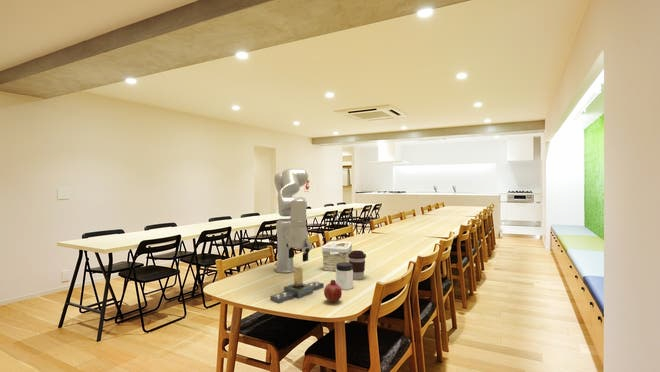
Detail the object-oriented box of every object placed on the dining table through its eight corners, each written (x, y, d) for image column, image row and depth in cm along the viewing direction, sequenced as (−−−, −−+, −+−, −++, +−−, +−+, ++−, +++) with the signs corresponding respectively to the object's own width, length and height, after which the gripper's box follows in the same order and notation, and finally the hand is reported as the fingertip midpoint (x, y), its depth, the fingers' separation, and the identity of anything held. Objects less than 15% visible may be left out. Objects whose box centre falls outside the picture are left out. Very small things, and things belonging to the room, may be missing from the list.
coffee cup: (345, 279, 189) (345, 252, 189) (352, 274, 198) (352, 249, 198) (361, 281, 185) (361, 254, 185) (368, 277, 194) (368, 250, 193)
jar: (333, 289, 172) (333, 265, 172) (338, 284, 180) (338, 261, 180) (350, 290, 169) (350, 266, 169) (354, 285, 177) (354, 262, 177)
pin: (292, 293, 165) (292, 268, 165) (298, 291, 168) (298, 267, 168) (298, 295, 162) (298, 270, 162) (304, 293, 165) (304, 268, 165)
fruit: (333, 297, 159) (333, 276, 159) (345, 302, 153) (345, 280, 153) (320, 301, 154) (320, 279, 154) (332, 306, 148) (332, 283, 148)
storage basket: (329, 262, 230) (329, 240, 230) (352, 263, 227) (352, 241, 227) (321, 271, 207) (321, 247, 206) (347, 272, 203) (347, 248, 203)
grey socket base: (267, 299, 157) (267, 292, 157) (312, 284, 180) (312, 278, 180) (282, 304, 150) (282, 296, 150) (326, 288, 173) (326, 281, 173)
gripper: (280, 223, 167) (280, 257, 168) (305, 227, 156) (305, 264, 157) (291, 221, 173) (291, 255, 174) (316, 225, 162) (316, 260, 163)
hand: (298, 259), depth 165 cm, fingers open, 9 cm apart
